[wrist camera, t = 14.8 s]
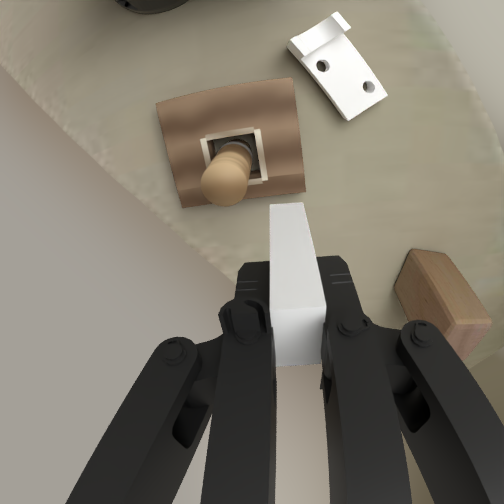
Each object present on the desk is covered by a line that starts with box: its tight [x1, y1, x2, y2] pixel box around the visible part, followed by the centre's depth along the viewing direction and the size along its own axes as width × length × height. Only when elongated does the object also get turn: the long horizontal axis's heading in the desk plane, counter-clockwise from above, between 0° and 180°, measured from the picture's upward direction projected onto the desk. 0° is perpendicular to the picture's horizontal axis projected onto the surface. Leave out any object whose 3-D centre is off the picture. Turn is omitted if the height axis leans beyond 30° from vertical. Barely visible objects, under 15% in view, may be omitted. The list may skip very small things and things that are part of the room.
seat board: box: [156, 77, 306, 208], centre depth 38 cm, size 16×18×4 cm
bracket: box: [287, 12, 387, 121], centre depth 29 cm, size 13×7×8 cm, turn 40°
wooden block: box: [394, 249, 492, 361], centre depth 42 cm, size 10×10×20 cm
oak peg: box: [201, 139, 253, 206], centre depth 35 cm, size 5×5×14 cm
